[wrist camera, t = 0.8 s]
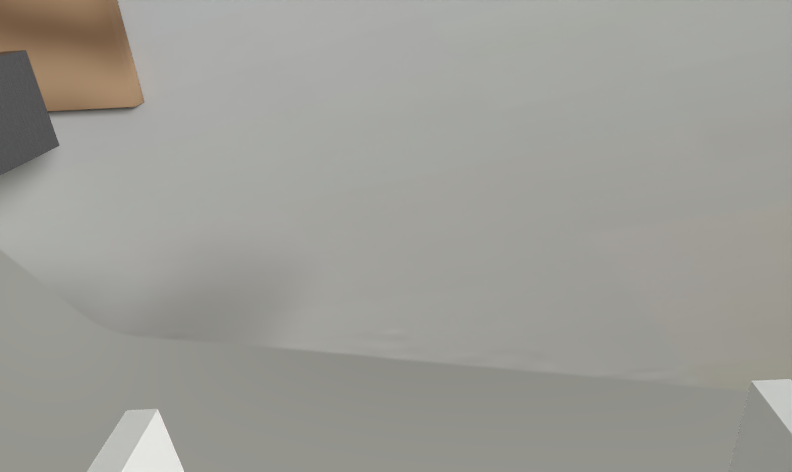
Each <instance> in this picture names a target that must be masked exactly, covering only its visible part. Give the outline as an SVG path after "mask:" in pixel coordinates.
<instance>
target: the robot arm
mask: <svg viewBox="0 0 792 472" xmlns="http://www.w3.org/2000/svg"><path fill="white" fill-rule="evenodd" d="M87 472H184V471H183V468H182V466H181V463H180V461H179V458H178V456H177V454H176V451H175V449H174V447H173V444H172V442H171V439H170V437H169V435H168V432H167V430H166V427H165V425H164V423H163V420H162V418H161V415H160V413H159V411H158V409H146V410H127V411H126V412H125V414H124V415H123V417H122V418H121V420H120V421H119V423H118V424H117V426H116V428H115V429H114V431H113V432H112V434H111V435H110V437H109V438H108V440H107V441H106V443H105V444H104V446H103V448H102V449H101V451H100V452H99V454H98V455H97V457H96V458H95V460H94V461H93V463H92V464H91V466H90V468H89V469H88V471H87ZM729 472H792V381H791V380H790V379H783V380H761V381H751V385H750V389H749V392H748V396H747V400H746V404H745V408H744V412H743V416H742V420H741V424H740V428H739V432H738V436H737V440H736V444H735V448H734V451H733V455H732V460H731V464H730V467H729Z"/></svg>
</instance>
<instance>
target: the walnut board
mask: <svg viewBox="0 0 792 472" xmlns="http://www.w3.org/2000/svg"><path fill="white" fill-rule="evenodd" d="M20 50H26V51H27V54H28V57H29V60H30V63H31V66H32V69H33V71H34V74H35V77H36V80H37V83H38V86H39V89H40V92H41V94H42V97H43V100H44V103H45V106H46V109H47V111H62V110H81V109H100V108H119V107H136V106H138V105H140V104H142V103H144V99H143V95H142V92H141V88H140V84H139V80H138V77H137V73H136V69H135V65H134V62H133V58H132V54H131V50H130V47H129V43H128V39H127V35H126V32H125V28H124V24H123V20H122V17H121V13H120V9H119V5H118V2H117V0H0V52H4V51H20Z"/></svg>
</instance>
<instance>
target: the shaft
mask: <svg viewBox="0 0 792 472" xmlns="http://www.w3.org/2000/svg"><path fill="white" fill-rule="evenodd" d="M57 146H59V143H58V140H57V138H56V135H55V132H54V129H53V126H52V123H51V120H50V117H49V115H48V112H47V109H46V106H45V103H44V100H43V97H42V94H41V92H40V89H39V86H38V83H37V80H36V77H35V74H34V71H33V69H32V66H31V63H30V60H29V57H28V54H27V51H26V50H20V51H4V52H0V175H1V174H3V173H5V172H7V171H9V170H11V169H13V168H15V167H17V166H19V165H21V164H23V163H25V162H27V161H29V160H31V159H33V158H35V157H37V156H39V155H41V154H43V153H45V152H47V151H49V150H51V149H53V148H55V147H57Z"/></svg>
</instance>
